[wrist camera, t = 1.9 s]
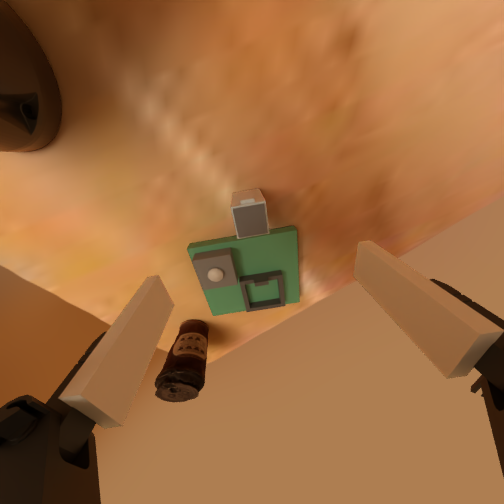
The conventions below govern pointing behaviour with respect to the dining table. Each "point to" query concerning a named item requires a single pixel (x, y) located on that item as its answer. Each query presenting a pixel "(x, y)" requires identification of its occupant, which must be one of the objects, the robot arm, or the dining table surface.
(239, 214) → the plug
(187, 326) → the coffee cup
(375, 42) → the dining table surface
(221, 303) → the board
